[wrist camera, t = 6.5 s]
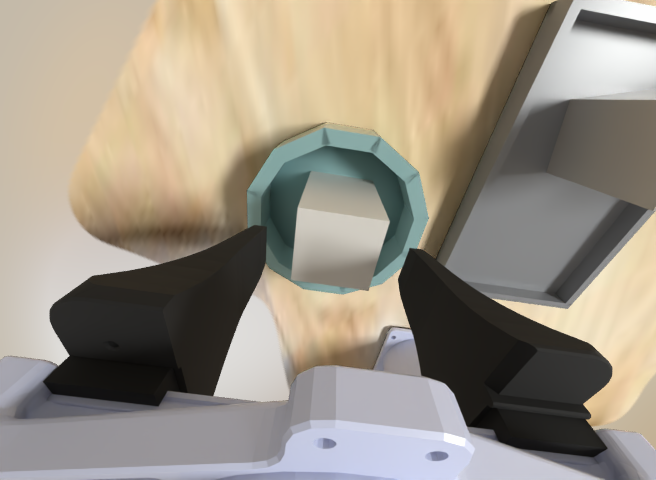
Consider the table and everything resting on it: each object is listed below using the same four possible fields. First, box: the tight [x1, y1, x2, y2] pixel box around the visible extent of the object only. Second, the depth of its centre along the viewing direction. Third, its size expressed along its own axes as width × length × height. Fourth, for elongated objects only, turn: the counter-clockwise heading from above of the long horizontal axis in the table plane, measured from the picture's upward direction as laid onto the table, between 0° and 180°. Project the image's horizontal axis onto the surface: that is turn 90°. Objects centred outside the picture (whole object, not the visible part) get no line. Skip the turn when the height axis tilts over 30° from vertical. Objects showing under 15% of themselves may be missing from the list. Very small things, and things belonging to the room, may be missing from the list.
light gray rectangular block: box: [546, 89, 656, 211], centre depth 12 cm, size 4×4×6 cm
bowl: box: [247, 122, 429, 294], centre depth 16 cm, size 11×11×3 cm
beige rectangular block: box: [291, 171, 390, 291], centre depth 14 cm, size 4×4×6 cm
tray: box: [436, 0, 656, 309], centre depth 16 cm, size 17×11×2 cm, turn 171°
